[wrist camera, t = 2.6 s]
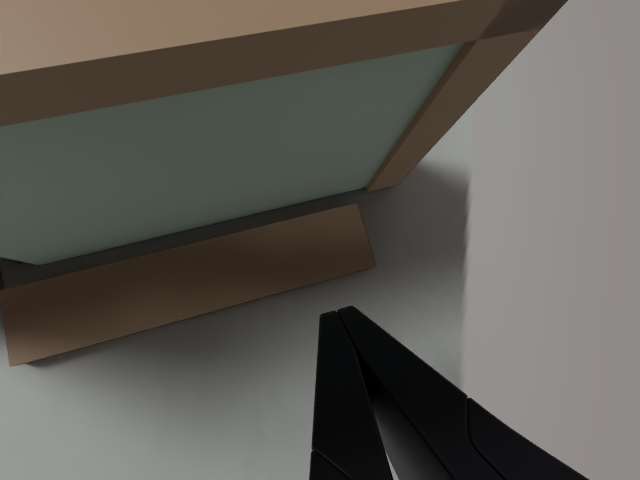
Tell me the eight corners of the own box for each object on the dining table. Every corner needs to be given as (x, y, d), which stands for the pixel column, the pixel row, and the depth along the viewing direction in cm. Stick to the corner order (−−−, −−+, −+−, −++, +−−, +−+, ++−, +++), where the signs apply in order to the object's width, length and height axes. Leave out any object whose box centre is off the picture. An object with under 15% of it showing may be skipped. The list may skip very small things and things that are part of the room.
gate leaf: (41, 271, 15) (-547, 162, 4) (34, 225, 16) (-531, 19, 5) (398, 184, 18) (586, -20, 7) (385, 147, 18) (547, -105, 7)
